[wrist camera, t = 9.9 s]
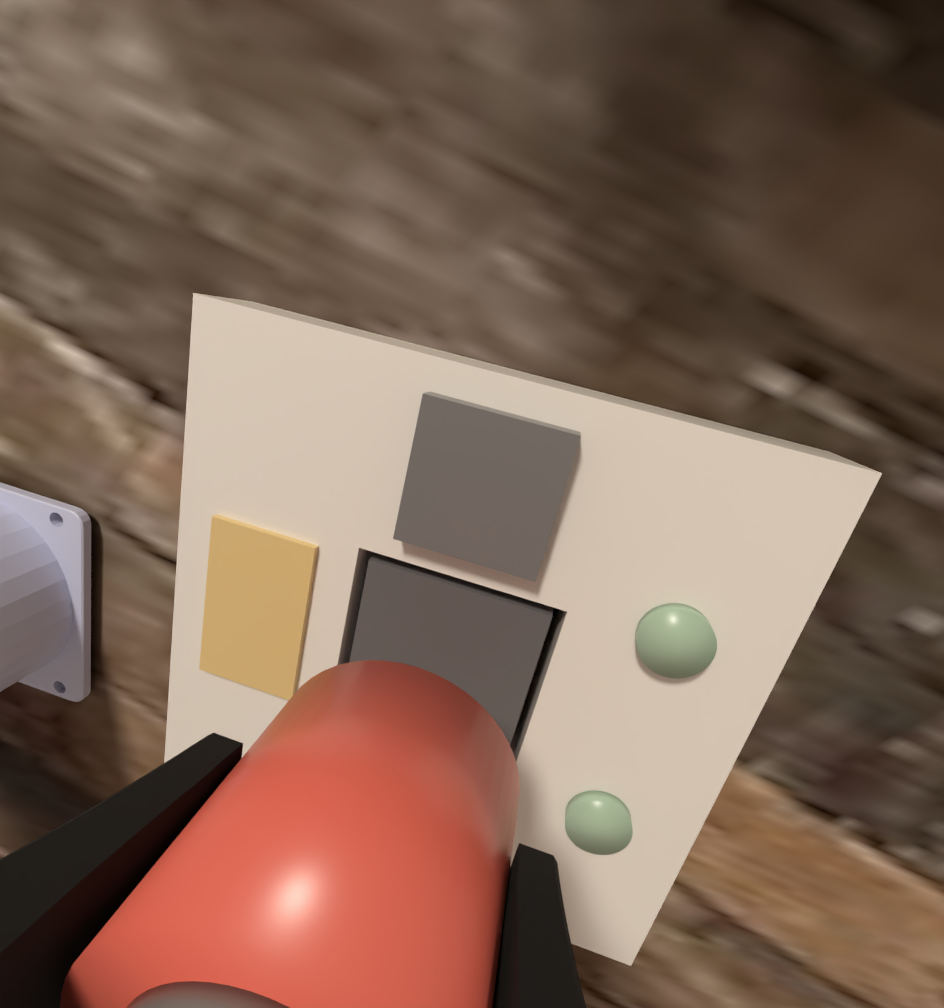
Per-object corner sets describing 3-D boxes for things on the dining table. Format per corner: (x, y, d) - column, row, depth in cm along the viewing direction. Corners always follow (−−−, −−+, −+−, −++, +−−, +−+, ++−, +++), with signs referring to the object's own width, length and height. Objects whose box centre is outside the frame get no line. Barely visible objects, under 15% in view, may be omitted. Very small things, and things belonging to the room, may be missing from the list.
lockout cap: (265, 821, 12) (43, 1158, 7) (292, 627, 10) (28, 886, 5) (485, 902, 11) (414, 1333, 6) (550, 710, 10) (523, 1088, 5)
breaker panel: (210, 737, 20) (149, 804, 17) (253, 301, 15) (175, 290, 12) (624, 887, 18) (632, 988, 16) (828, 451, 13) (899, 480, 10)
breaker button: (370, 664, 18) (340, 710, 16) (397, 530, 16) (369, 559, 14) (512, 711, 17) (502, 766, 15) (556, 578, 16) (552, 616, 13)
